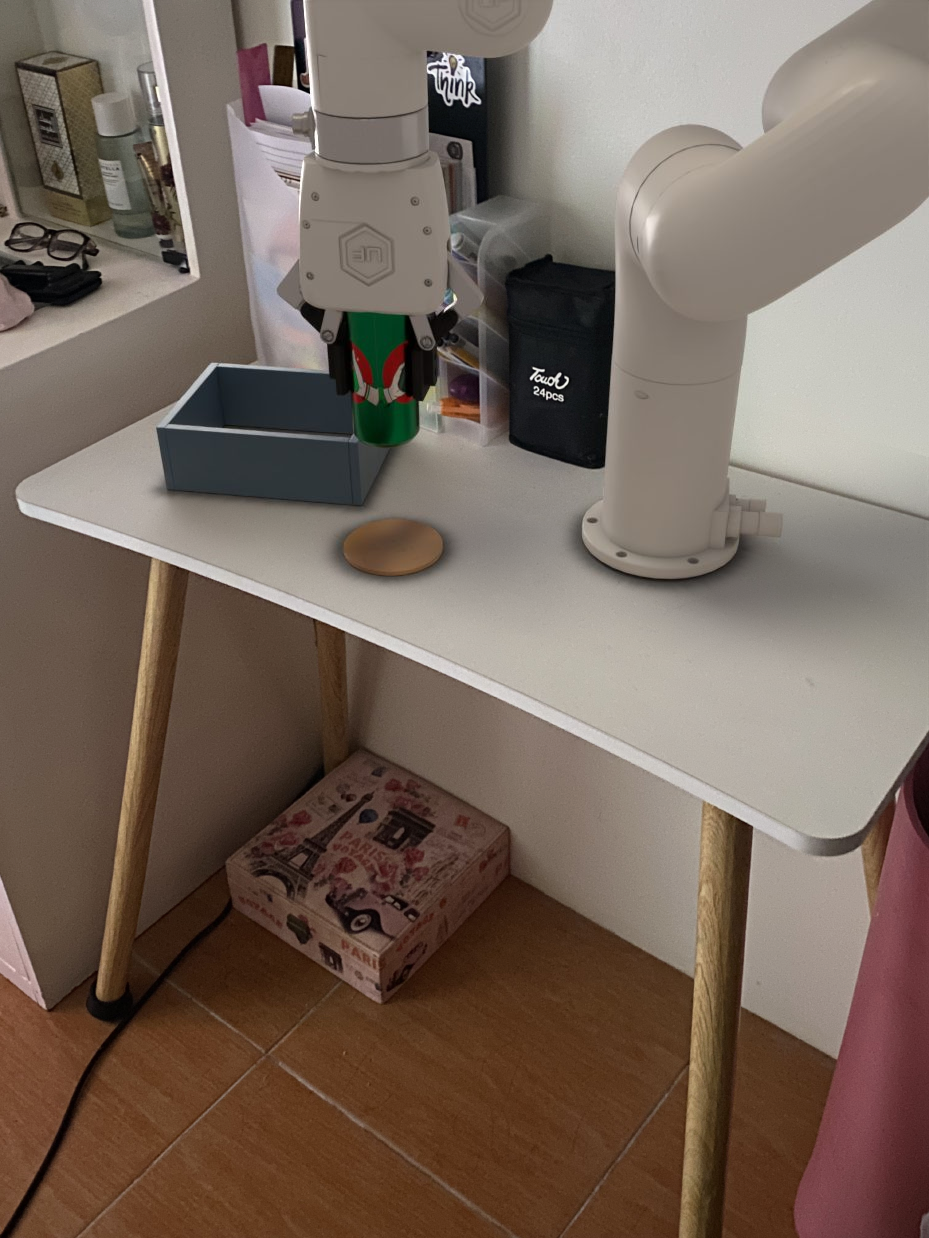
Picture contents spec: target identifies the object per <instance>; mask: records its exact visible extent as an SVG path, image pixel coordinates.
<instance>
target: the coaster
mask: <svg viewBox="0 0 929 1238" xmlns="http://www.w3.org/2000/svg"><path fill="white" fill-rule="evenodd" d="M342 548H343V555H344V558H345V560H346V561H347V562H348V563H349V564H350V565H351V566H352V567H353V568H356V569H357V570H359V571H362V572H364V573H367V574H370V575H376V576H386V577H392V576H393V577H394V576H405V575H411V574H415V573H417V572H420V571H422V570H425V569H427V568H428V567H431V566H432V565H434V564H435V563H436V562H437V561H438V560H439V558H440V557H441V556H442V554H443V550H444V541H443V538H442V536H441V534H440V533H439V532H438V531H437V530H436V529H434V528H433V527H432V526H430V525H428V524H425V523H423V522H420V521H417V520H411V519H404V518H403V519H402V518H400V519H399V518H391V519H389V518H388V519H381V520H377V521H373V522H368V523H366V524H363V525H362V526H359V527H358V528H356V529H354V530H353V531H352V532H350V533H349V534H348V536H346V538H345V540H344V543H343V547H342Z"/></svg>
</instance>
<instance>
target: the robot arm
mask: <svg viewBox="0 0 929 1238" xmlns="http://www.w3.org/2000/svg"><path fill="white" fill-rule="evenodd" d="M302 2H303V14H304V27H305V38H306V40H305V41H306V51H307V65H308V74H309V92H310V102H311V103H310V104H311V106H310V107H309V108H308V111H304V112H303V113H300V112H299V113H297V112H293V114H292V118H291V130H292V133H293V135H297V136H304V137H305V138H308V139H309V142H310V145H311V151H312V152H310V153H309V154H307V155H306V156H304V157H303V159H302V165H301V173H300V183H299V202H298V203H299V205H298V259H297V260H296V261H295V263H294V264H293V265H292V267H291V268H290V270H288V272H287V273H286V275H285V276H284V278H283V279H282V280H281V281H280V283H279V284H278V285H277V288H276V293H277V295H278V296H279V297H280V298H281V299H282V300H284V301H285V302H286V303H287V304H288V305H289V306H290V307H292V308H293V309H294V310H297V311H298V312H299V313H300V315H301V317H302V318H303V319H304V320H305V321H306V322H307V323H308V324H309V325H310V326H311V327H312V328H313V329H315V330H316V332H318V334H319V337H320V340H321V341H322V342H323V343H324V344H326V350H327V352H326V353H327V364H328V370H329V377H330V379H335V380H336V393H337V395H341V396H345V394H348V392H349V390H350V381H349V367H348V353H347V338H346V324H345V311H349V312H375V313H381V314H397V315H409V317H410V320H411V323H412V326H413V329H414V332H415V335H416V345H415V346H414V348H413V350H412V354H411V357H412V384H413V399H415V400H416V401H419V402H424V401H425V398H426V396H427V394H428V392H429V390H430V388H431V387H436V386H437V384H438V376H439V369H438V368H439V367H438V343H439V342H440V341H441V340H442V339H443V338H444V337H445V336H446V335H447V334H449V332H450V331H452V330H453V329H454V328H455V327H456V326H457V324H459V323H460V322H461V321H463V320H465V319H466V318H468V317H469V316H470V315H471V314H473V313H475V312H476V311H477V310H478V309H479V308H480V307H481V305H482V304H483V301H484V298H485V296H484V295H485V294H484V293H483V291H482V290H481V289H480V288H479V286H478V285H477V284H476V282H474V280H473V279H472V278H471V276H470V275H469V274H468V272H466V270H465V269H464V267H463V266H462V265H461V264H460V262H459V261H458V260H457V259H456V258H455V256H454V255H453V243H452V233H451V224H450V215H449V206H448V205H449V204H448V198H447V191H446V186H445V180H444V179H445V178H444V175H443V169H442V165H441V161H440V157H439V154H438V153H437V152H436V151H434V150H430V137H429V135H430V134H429V133H430V132H429V129H430V128H429V104H428V103H429V96H428V95H429V94H428V91H429V90H428V58H427V57H428V56H427V55H428V53H427V52H428V51H429V52H437V53H442V54H443V53H444V54H449V55H450V54H451V55H457V56H463V57H471V58H481V59H493V58H501V57H506V56H510V55H512V54H515V53H517V52H520V51H521V50H523V49H524V48H525V47H528V46H529V45H530V44H531V43H532V42H533V41H535V39H536V38H537V37H538V36H539V35H540V34H541V32H542V31H543V29H544V28H545V26H546V24H547V22H548V21H549V18H550V16H551V13H552V9H553V5H554V0H303V1H302ZM761 103H762V104H761V122H762V123H761V124H762V130H763V132H764V134H762V135H760V137H758V138H757V139H754V140H753V141H752V142H750V143H749V144H747V145H746V146H745V147H743V146H742V144H740V143H739V142H738V141H737V140H735V139H734V138H733V137H731V136H730V135H728V134H726V133H725V132H724V131H721V130H719V129H717V128H715V127H711V126H707V125H702V124H691V123H689V124H688V123H687V124H680V125H674V126H671V127H668V128H665V129H664V130H661V131H659V132H658V133H655V134H654V135H652V136H651V137H650V138H649V139H647V140H646V141H645V142H644V143H642V145H641V146H640V147H639V148H638V149H637V150H636V151H635V152H634V154H633V155H632V157H631V158H630V160H629V161H628V163H627V165H626V166H625V169H624V171H623V172H622V176H621V177H620V181H619V185H618V189H617V195H616V201H615V211H614V213H615V214H614V258H615V259H614V262H615V263H614V264H615V265H614V266H615V269H614V270H615V295H614V296H615V298H614V300H615V301H614V321H613V324H614V325H613V341H612V353H611V365H610V381H609V382H610V383H609V384H610V385H609V397H608V414H607V415H608V416H607V428H606V431H607V432H606V443H605V459H604V460H605V461H604V475H603V476H604V479H603V490H602V493H603V494H602V498H601V499H600V500H598V501H597V502H595V503H593V504H592V505H591V506H590V507H589V508H588V510H586V512H585V514H584V516H583V518H582V523H581V524H582V525H581V539H582V541H583V544H584V546H585V548H586V549H587V550H588V551H589V553H590V554H591V555H592V556H594V557H595V558H596V559H598V560H599V561H600V562H602V563H603V564H606V565H607V566H609V567H611V568H612V569H615V570H618V571H620V572H623V573H626V574H629V575H633V576H638V577H643V578H650V579H659V580H677V579H688V578H694V577H699V576H702V575H706V574H709V573H712V572H714V571H716V570H717V569H719V568H721V567H723V566H725V565H726V564H727V563H729V562H730V561H731V560H732V559H733V558H734V556H735V554H736V553H737V551H738V548H739V543H740V534H743V535H756V537H768V538H781V535H782V529H783V522H784V521H783V519H784V516H783V514H784V513H783V512H771V511H766V508H767V507H766V506H767V500H766V499H761V498H751V497H750V498H740V497H739V498H738V497H737V494H734V493H733V494H732V493H730V477H728V475H729V467H730V459H731V452H732V443H733V436H734V428H735V420H736V413H737V407H738V406H737V405H738V397H739V390H740V381H741V376H742V375H741V373H742V366H743V362H744V355H745V353H744V352H745V347H746V341H747V340H746V339H747V329H748V316H749V315H750V314H753V313H754V312H757V311H759V310H762V309H763V308H766V307H767V306H770V305H771V304H773V303H775V302H777V301H778V300H780V299H781V298H783V297H785V296H786V295H788V294H789V293H791V292H793V291H794V290H796V289H797V288H800V287H801V286H802V285H804V284H806V283H808V282H809V281H810V280H811V279H812V280H813V279H814V278H815V277H817V276H819V275H820V274H822V273H823V272H825V271H826V270H828V269H829V268H831V267H833V266H834V265H836V264H837V263H839V262H840V261H842V260H843V259H845V258H847V257H849V256H850V255H852V254H853V253H855V252H857V251H858V250H859V249H861V248H863V247H864V246H866V245H867V244H869V243H871V242H872V241H874V240H875V239H877V238H879V237H880V236H882V235H884V234H885V233H886V232H888V231H889V230H891V229H892V228H894V227H896V226H897V225H898V224H900V223H902V222H903V221H904V220H905V219H906V218H908V217H909V216H910V215H912V214H913V213H914V212H915V211H916V210H917V209H919V208H920V207H921V206H922V205H923V204H924V202H925V201H927V199H928V198H929V0H870V1H869V2H868V3H866V4H865V5H863V6H861V8H859V9H857V10H856V11H854V12H853V13H851V14H850V15H849V16H847V17H846V18H844V19H843V20H842V21H839V22H838V23H837V24H836V25H834V26H833V27H831V28H830V29H828V30H826V31H825V32H823V33H822V34H820V35H819V36H817V37H816V38H814V39H813V40H811V41H809V42H808V43H807V44H805V45H804V46H802V47H801V48H799V49H798V50H797V51H795V52H794V53H793V54H792V55H790V56H789V57H788V58H787V60H785V62H783V63H782V64H781V65H780V66H779V68H778V69H777V70H776V71H775V73H774V74H773V76H772V77H771V79H770V80H769V83H768V84H767V86H766V89H765V91H764V95H763V98H762V102H761ZM449 290H451V292H452V293H453V294H454V295H455V297H456V299H455V300H454V301H453V302H451V303H449V304H447V305H446V306H445V307H444V308H443V309H442V310H440V312H438V310H439V309H440V307H441V306H442V305H443V303H444V301H445V299H446V295H447V291H449Z"/></svg>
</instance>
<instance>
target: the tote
mask: <svg viewBox="0 0 929 1238" xmlns="http://www.w3.org/2000/svg"><path fill="white" fill-rule="evenodd" d="M225 425H226V426H237V427H251V428H265V429H278V430H289V431H303V432H304V431H305V432H317V433H328V434H329V433H330V434H342V435H345V434H346V435H351V437H345V436H344V437H343V436H331V435H319V434H318V435H317V434H305V433H290V432H288V433H287V432H280V431H279V432H278V431H266V430H253V429H252V430H251V429H238V428H226V427H225V428H224V426H225ZM155 429H156V430H155V431H156V436H157V441H158V447H159V453H160V458H161V464H162V469H163V476H164V482H165V487H166V490H171V491H172V490H173V491H182V492H195V493H204V494H205V493H207V494H219V495H231V496H242V497H251V498H252V497H253V498H265V499H278V500H290V501H300V502H313V503H324V504H325V503H326V504H337V505H347V506H349V505H350V506H362V505H363V504H364V502H365V499H366V498H367V496H368V494H369V492H370V490H371V488H372V486H373V483H374V482H375V480H376V478H377V475H378V474H379V472H380V469H381V467H382V465H383V464H384V461H385V459H386V458H387V455H388V453H389V452H390V450H391V448H375V447H371V446H368V445H366V444H364V443H362V442H361V441H360V440H359V439H358V438H357V437H356V436H355V435H354V433H353V425H352V410H351V396H350V390H349V392H348V394H345V396H341V395H337V393H336V380H335V379H330V377H329V369H315V368H314V369H311V368H300V367H299V368H298V367H297V368H296V367H282V366H267V365H266V366H265V365H252V364H240V363H239V364H238V363H236V364H235V363H225V362H224V363H223V362H210V364H209V365H208V366H207V367H206V368H205V370H204V371H203V372H202V373H201V374H200V375H199V377H197V379H196V380H195V381H194V382H193V383H192V385H191V386H190V387H189V388H188V389H187V391H185V393H184V394H183V395H182V396H181V398H180V399H179V400H178V401H177V402H176V403H175V405H174V406H173V407H172V408H171V409H170V411H169V412H168V413H167V414H166V415H165V416H164V418H163V419H162V420H161V421H160V422H159V423H158V424H157V425H156V427H155Z"/></svg>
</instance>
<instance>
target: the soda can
mask: <svg viewBox="0 0 929 1238" xmlns="http://www.w3.org/2000/svg"><path fill="white" fill-rule="evenodd" d="M345 324H346V338H347V353H348V367H349V381H350V396H351V410H352V425H353V433H354V435H355V436H356V437H357V438H358V439H359V440H360V441H361V442H362V443H364V444H366V445H368V446H371V447H375V448H390V449H395V448H400V447H402V446H405V445H407V444H409V443H411V442H412V441H413V440H414V439H415V438H416V437H417V435H418V434H419V433H420V431H421V430H420V429H421V422H420V421H421V418H420V401H416V400H415V399H413V384H412V357H411V354H412V350H413V348H414V346H415V345H416V335H415V332H414V329H413V326H412V323H411V320H410V317H409V315H397V314H381V313H375V312H349V311H345Z"/></svg>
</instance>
